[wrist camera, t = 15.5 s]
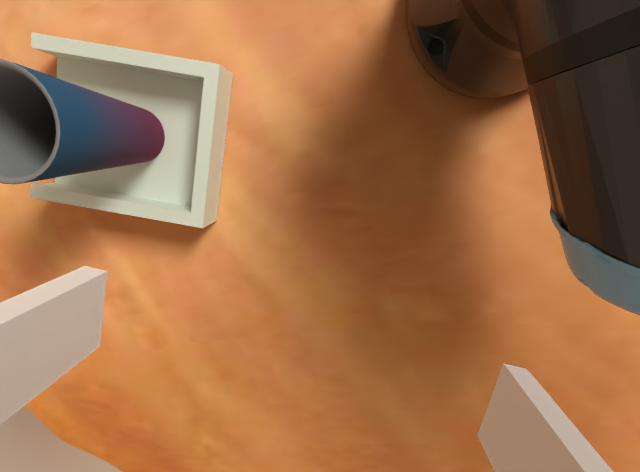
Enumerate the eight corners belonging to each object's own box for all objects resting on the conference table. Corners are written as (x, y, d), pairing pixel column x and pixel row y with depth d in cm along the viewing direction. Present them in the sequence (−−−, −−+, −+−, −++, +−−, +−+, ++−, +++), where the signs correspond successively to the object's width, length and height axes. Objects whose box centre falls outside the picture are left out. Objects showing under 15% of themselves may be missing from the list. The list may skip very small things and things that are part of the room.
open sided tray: (65, 45, 36) (31, 32, 32) (232, 74, 35) (219, 64, 32) (61, 193, 39) (30, 197, 35) (216, 220, 38) (202, 228, 35)
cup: (105, 91, 35) (-61, 48, 21) (177, 104, 35) (61, 69, 21) (102, 165, 37) (-56, 172, 22) (171, 177, 37) (58, 193, 22)
